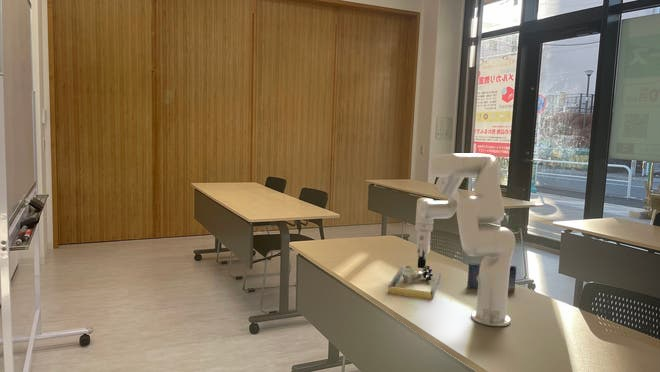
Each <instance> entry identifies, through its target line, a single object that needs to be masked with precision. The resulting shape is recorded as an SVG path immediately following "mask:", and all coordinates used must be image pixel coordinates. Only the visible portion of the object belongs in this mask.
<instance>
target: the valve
mask: <svg viewBox="0 0 660 372" xmlns="http://www.w3.org/2000/svg"><path fill="white" fill-rule="evenodd" d="M432 272H433V268H430V265H427V264H426V265H425V266H424V268H422V270H421V271H417V270H413V266H410V265H404V266H403V275H402V277H403V280H402V281H403V284H407V285H408V284H412V281H413V280H412V279H416V278H417V277H423V279H425V282H427V281H432V277H433V275H434V274H433V273H432Z"/></svg>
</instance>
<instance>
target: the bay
mask: <svg viewBox="0 0 660 372" xmlns="http://www.w3.org/2000/svg"><path fill="white" fill-rule="evenodd" d="M403 272H404V266H402V267H400V268H399V269H398V271H397V272H396V274H395V275H394V277H393V278H392V280H391V281H390V282H389V284H388V285H387V294H391V295H396V296H397V295H398V296H404V297H411V298H418V299H427V300H433V299H434V297H435V295H436V291H437V289H438V286H439V283H440V280H441V273H442V272H441V271H438V272H437V274H436V276H435V279H434V282H433V285H432V287H431V289H430V291H425V290H419V289H413V288H412V289H410V288H404V287H397V284H398V282H399V281H400V279H401V278H402V277H403ZM433 301H434V300H433Z"/></svg>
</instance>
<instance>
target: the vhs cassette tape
mask: <svg viewBox="0 0 660 372" xmlns="http://www.w3.org/2000/svg"><path fill="white" fill-rule="evenodd" d="M480 265H481V263H475V262H474V263H473V262H468V272H467V282H466V283H467V284H466V285H467V288H468V289H471V290H478V282H479V269H480ZM516 275H517V267H516V266H515V265H510V273H509V284H508V292H515V289H516V277H517V276H516Z"/></svg>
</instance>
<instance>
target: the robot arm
mask: <svg viewBox="0 0 660 372" xmlns="http://www.w3.org/2000/svg"><path fill="white" fill-rule="evenodd" d="M430 172H431V174H432V176H434V177H436V178H437V181H436V184H435V187H436V188H437V190H438V192H440V193H441V194H442V195H444V196H446V197H447V199H446V200H435V199H432V198H428V197H420V198H418V199H417V201H416V211H415V212H416V213H415V227H414V228H415V231H417V236H416V253H417V254H418V256H417V257H418V258H417V268H419V269H425V268H424V266H427V264H426V262H427V259H426V257H427V255H428V254H429V252H430V250H431V235H432V234H431V232H433V229H434V219H435V220H436V219H437V220H439V219H440V220H441V219H443V220H444V219H450V218H452V217H453V216H454V214H456V219H457V220H456V221H457V225H458V226H457V227H458V232H459V239H460V244H461V248H462V250H463V253H465V255H467V256H469V257H483V259H482V260H481V263H480V264H481V265H480V269H479V282H478V289H477V295H476V296H477V298H476V309H475V310H473V311H472V312H471V315H470V317H471V319H472V320H474V321H475V322H477V323H479V324H482V325H485V326H491V327H505V326H509V325H510V324H511V317H510V316H509V315H508V314H507V306H508V297H509V296H508V295H509V293H508V292H509V291H508V284H509V273H510V266H511V263H512V258H513V254H514V251H515V248H516V236H515V233H513V231H512V230H510V229H509V228H507V227H504V226H479V224H480V225H482V224H484V225H485V224H497V223H500V222H502V221H503V220H504V218H505V214H506V212H505V205H504V200H503V195H502V189H501V185H500V164H499V162H498V160H497V158H496V157H495V156H494V155H492V154H488V153H487V154H486V153H459V152H458V153H445V154H437V155H436V156H434V157H433V159H432V161H431V163H430ZM465 178H475V180H474V183H473V189H474V195H473V194H468V195H465V196H464V195H463V196H462V197H461V198H460V193H459V191H458V189H459V188H460V186H461V184H462V183H463V180H464V179H465Z"/></svg>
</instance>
